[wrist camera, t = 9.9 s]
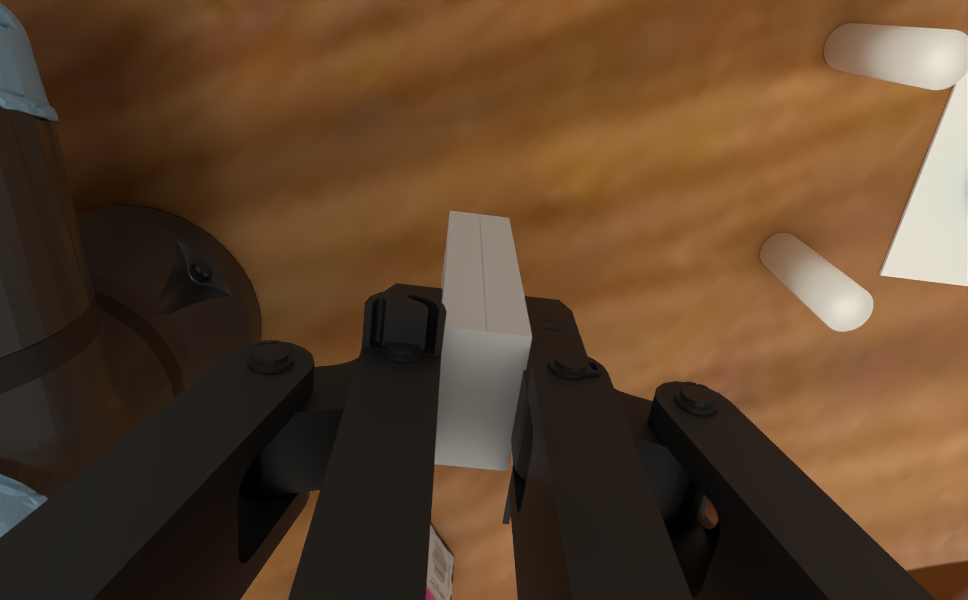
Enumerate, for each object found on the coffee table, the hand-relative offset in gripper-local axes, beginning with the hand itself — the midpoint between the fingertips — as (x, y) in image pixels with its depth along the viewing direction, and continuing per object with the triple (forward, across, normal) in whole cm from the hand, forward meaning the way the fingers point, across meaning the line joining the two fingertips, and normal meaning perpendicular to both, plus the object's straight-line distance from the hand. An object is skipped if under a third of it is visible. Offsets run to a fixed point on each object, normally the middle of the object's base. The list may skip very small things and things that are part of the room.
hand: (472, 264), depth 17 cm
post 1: (+25, -21, +6) cm, 33 cm away
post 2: (+25, -21, -6) cm, 33 cm away
